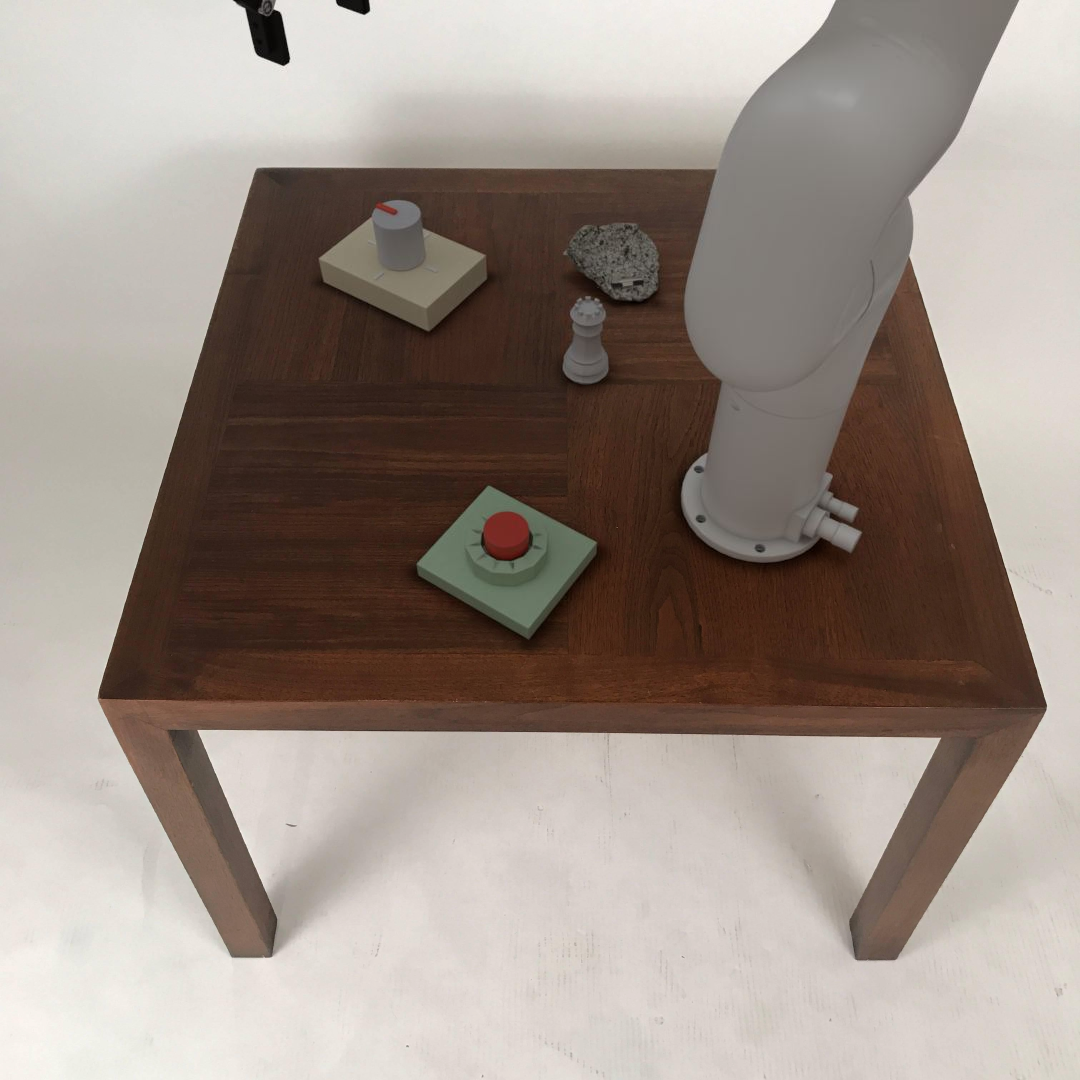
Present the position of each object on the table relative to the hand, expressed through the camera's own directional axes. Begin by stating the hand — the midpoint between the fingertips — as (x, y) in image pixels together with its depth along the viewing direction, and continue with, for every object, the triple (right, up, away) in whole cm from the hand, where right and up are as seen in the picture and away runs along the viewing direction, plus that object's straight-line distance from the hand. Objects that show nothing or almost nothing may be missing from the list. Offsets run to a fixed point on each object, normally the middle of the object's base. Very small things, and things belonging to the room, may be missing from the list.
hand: (314, 33), depth 79 cm
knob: (+4, -12, +22) cm, 25 cm away
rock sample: (+27, -13, +24) cm, 39 cm away
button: (+16, -41, 0) cm, 44 cm away
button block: (+16, -43, +2) cm, 46 cm away
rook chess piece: (+23, -24, +16) cm, 37 cm away
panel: (+4, -13, +24) cm, 28 cm away
